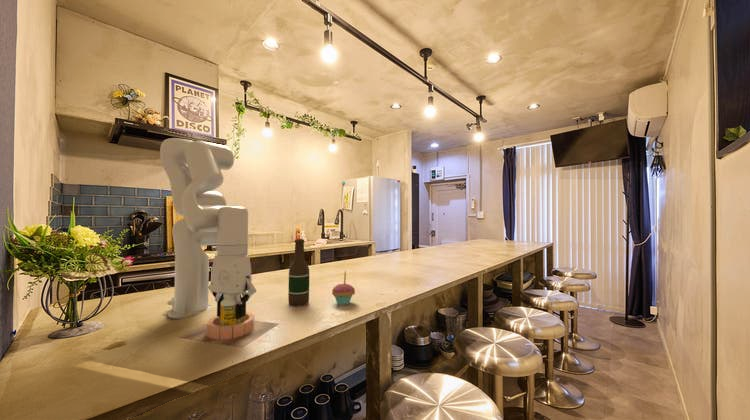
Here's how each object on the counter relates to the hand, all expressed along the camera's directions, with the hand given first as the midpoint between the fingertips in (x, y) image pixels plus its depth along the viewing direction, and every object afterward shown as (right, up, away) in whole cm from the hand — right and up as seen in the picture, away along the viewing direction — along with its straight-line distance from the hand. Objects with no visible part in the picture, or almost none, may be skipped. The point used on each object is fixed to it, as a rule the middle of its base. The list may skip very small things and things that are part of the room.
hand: (231, 315), depth 77 cm
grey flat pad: (0, -5, 0) cm, 5 cm away
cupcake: (+28, -6, +28) cm, 40 cm away
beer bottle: (+11, -6, +27) cm, 30 cm away
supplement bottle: (0, -3, 0) cm, 3 cm away
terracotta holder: (0, -4, 0) cm, 4 cm away
